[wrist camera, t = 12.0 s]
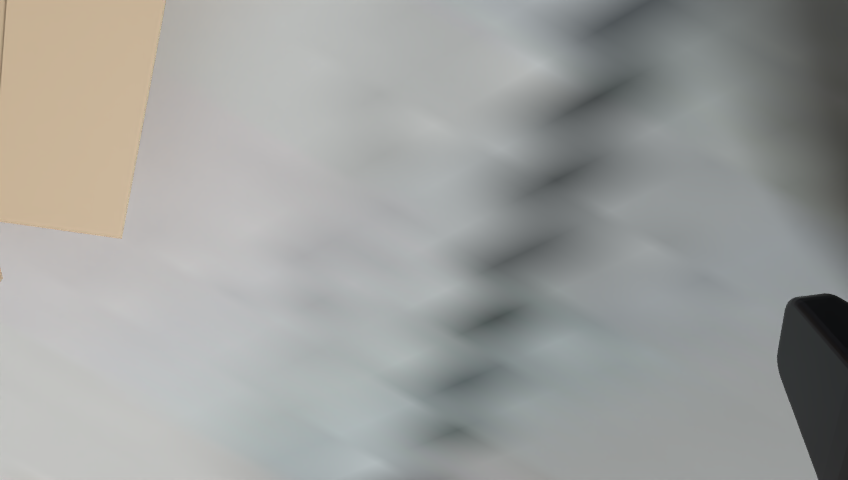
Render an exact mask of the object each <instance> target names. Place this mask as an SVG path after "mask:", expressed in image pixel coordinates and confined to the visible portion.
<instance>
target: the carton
mask: <svg viewBox="0 0 848 480" xmlns="http://www.w3.org/2000/svg"><path fill="white" fill-rule="evenodd" d="M165 3H166V0H0V222H6V223H13V224H20V225H27V226H35V227H42V228H49V229H56V230H63V231H70V232H77V233H84V234H92V235H99V236H106V237H113V238H120V239H122V234H123V229H124V223H125V218H126V213H127V207H128V202H129V197H130V191H131V186H132V180H133V175H134V170H135V164H136V159H137V154H138V148H139V143H140V137H141V132H142V127H143V121H144V116H145V111H146V105H147V100H148V95H149V89H150V84H151V78H152V73H153V68H154V62H155V57H156V52H157V46H158V41H159V35H160V30H161V25H162V19H163V14H164V9H165ZM2 279H3V277H2V273H1V269H0V281H1V280H2Z"/></svg>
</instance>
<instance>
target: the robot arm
mask: <svg viewBox="0 0 848 480" xmlns="http://www.w3.org/2000/svg"><path fill="white" fill-rule="evenodd" d="M777 363H778V369H779V374H780V377H781V380H782V383H783V385H784V388H785V391H786V393H787V396H788V399H789V402H790V404H791V407H792V410H793V412H794V415H795V418H796V420H797V423H798V426H799V429H800V431H801V434H802V437H803V439H804V442H805V445H806V448H807V450H808V453H809V456H810V458H811V461H812V464H813V466H814V469H815V472H816V475H817V477H818V480H848V302H846V301H845V300H843V299H841V298H839V297H837V296H835V295H832V294H825V293H824V294H817V295H809V296H801V297H795V298H793V299H791V300H790V301H789V302H788V304H787V305H786V308H785V313H784V318H783V324H782V330H781V336H780V341H779V347H778V354H777Z"/></svg>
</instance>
